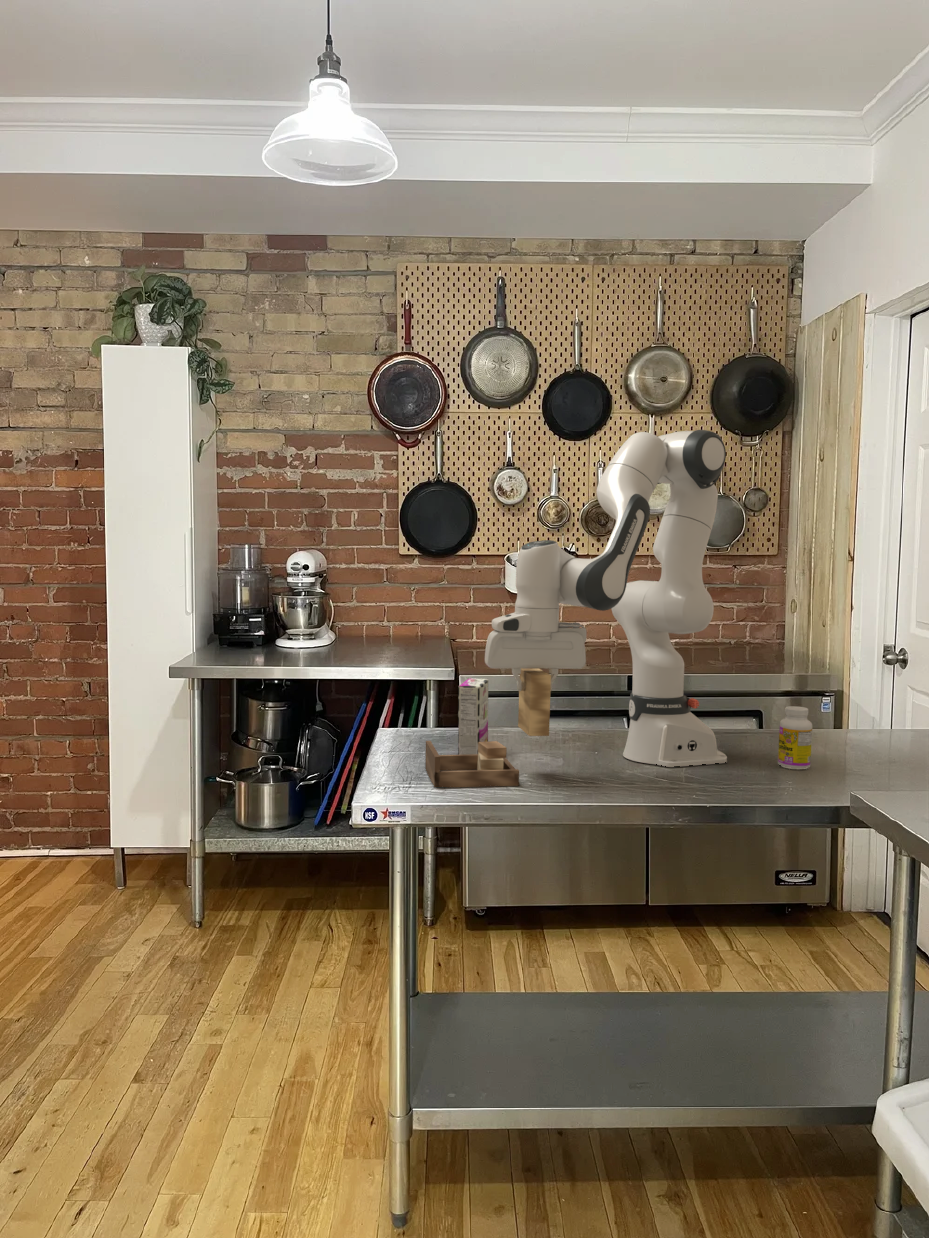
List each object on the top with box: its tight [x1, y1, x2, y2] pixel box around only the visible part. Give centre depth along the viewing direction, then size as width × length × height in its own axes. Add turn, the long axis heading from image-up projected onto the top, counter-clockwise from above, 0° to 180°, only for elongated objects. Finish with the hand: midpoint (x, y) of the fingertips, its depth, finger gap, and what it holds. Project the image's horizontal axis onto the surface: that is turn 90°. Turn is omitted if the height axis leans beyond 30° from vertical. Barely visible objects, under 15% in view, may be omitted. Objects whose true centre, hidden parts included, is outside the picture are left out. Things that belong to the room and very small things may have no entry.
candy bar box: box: [457, 677, 489, 755], centre depth 209 cm, size 11×5×16 cm, turn 168°
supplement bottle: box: [777, 705, 813, 768], centre depth 203 cm, size 7×7×13 cm
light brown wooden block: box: [517, 668, 552, 737], centre depth 191 cm, size 4×10×12 cm, turn 9°
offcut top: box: [478, 740, 507, 759], centre depth 191 cm, size 4×6×2 cm, turn 17°
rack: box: [424, 740, 520, 788], centre depth 190 cm, size 16×14×6 cm
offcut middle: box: [478, 752, 504, 770], centre depth 191 cm, size 4×8×2 cm, turn 3°
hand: (534, 690), depth 191 cm, fingers closed on light brown wooden block, 4 cm apart
